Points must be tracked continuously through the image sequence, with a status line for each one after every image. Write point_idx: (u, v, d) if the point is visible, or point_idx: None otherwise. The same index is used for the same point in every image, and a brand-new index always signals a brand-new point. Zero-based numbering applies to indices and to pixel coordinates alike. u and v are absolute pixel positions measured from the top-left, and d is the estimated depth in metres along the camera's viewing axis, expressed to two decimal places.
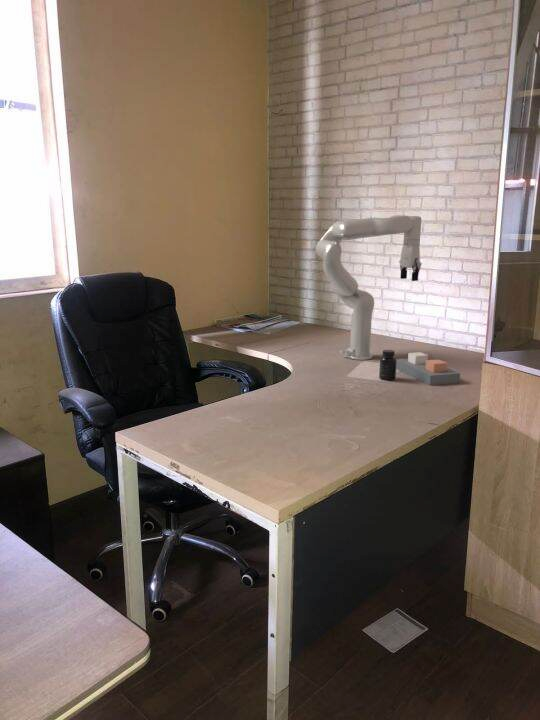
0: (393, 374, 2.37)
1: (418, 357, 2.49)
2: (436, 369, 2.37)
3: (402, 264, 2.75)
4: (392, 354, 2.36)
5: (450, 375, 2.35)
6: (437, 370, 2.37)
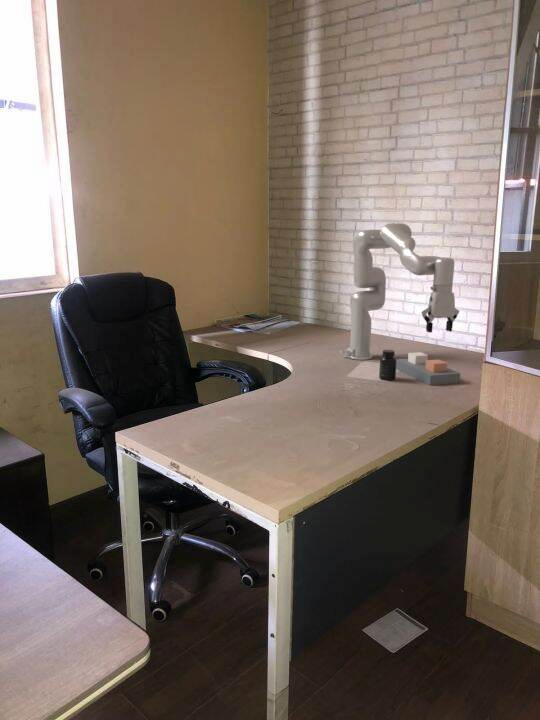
0: (393, 374, 2.37)
1: (418, 357, 2.49)
2: (436, 369, 2.37)
3: (440, 314, 2.31)
4: (392, 354, 2.36)
5: (450, 375, 2.35)
6: (437, 370, 2.37)
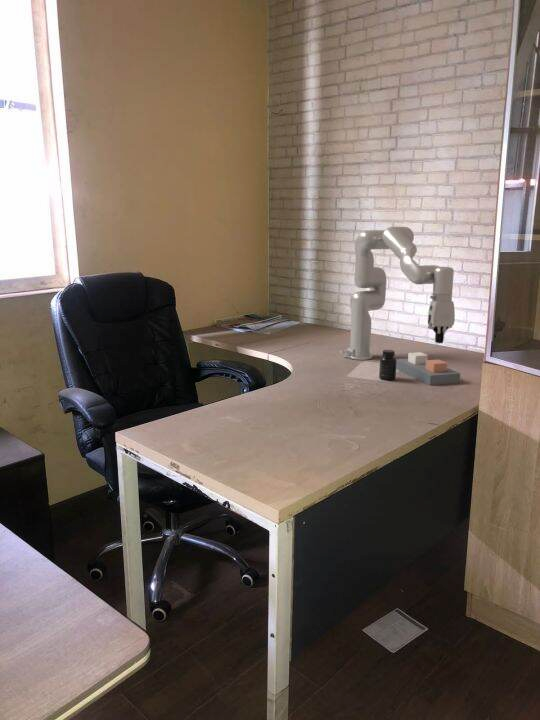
0: (393, 374, 2.37)
1: (418, 357, 2.49)
2: (436, 369, 2.37)
3: (440, 323, 2.32)
4: (392, 354, 2.36)
5: (450, 375, 2.35)
6: (437, 370, 2.37)
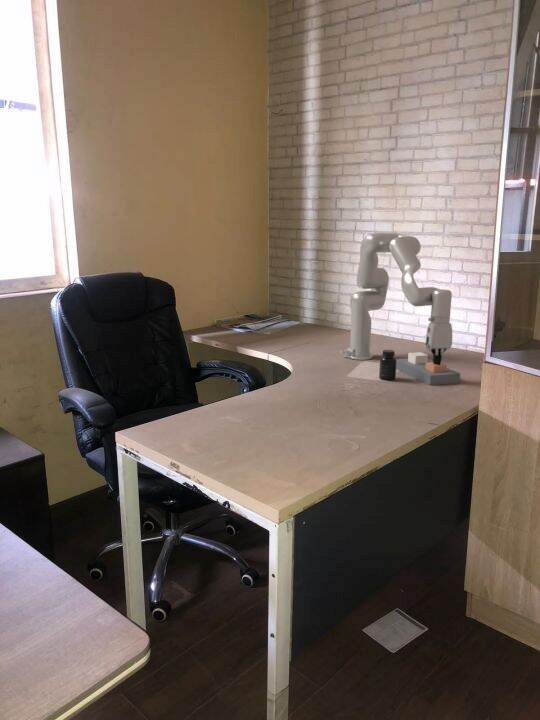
0: (393, 374, 2.37)
1: (418, 357, 2.49)
2: (436, 371, 2.37)
3: (438, 345, 2.34)
4: (392, 354, 2.36)
5: (450, 375, 2.35)
6: None
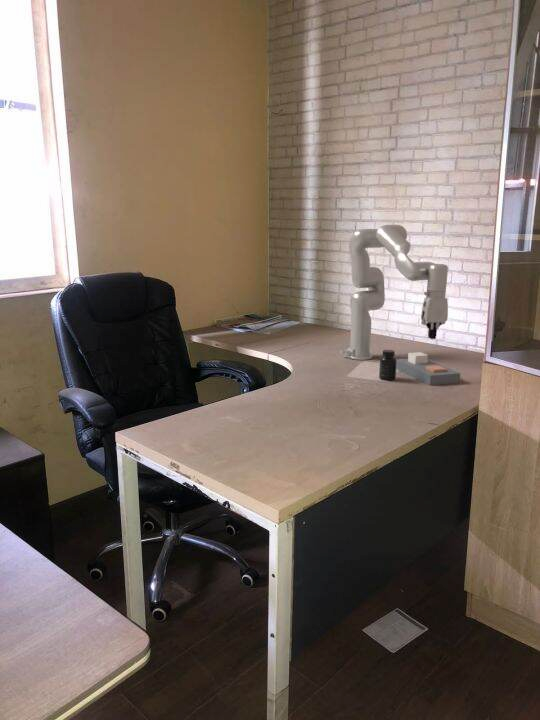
0: (393, 374, 2.37)
1: (418, 357, 2.49)
2: None
3: (433, 319, 2.36)
4: (392, 354, 2.36)
5: (450, 375, 2.35)
6: None
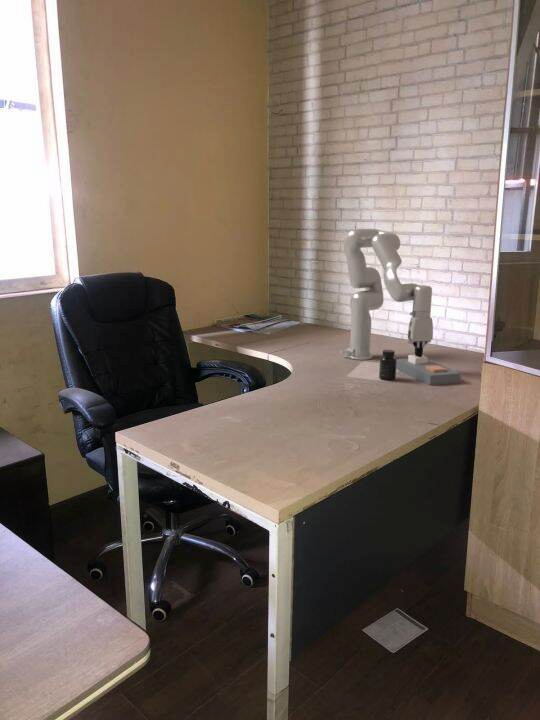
0: (393, 374, 2.37)
1: (418, 359, 2.49)
2: None
3: (419, 338, 2.47)
4: (392, 354, 2.36)
5: (450, 375, 2.35)
6: None
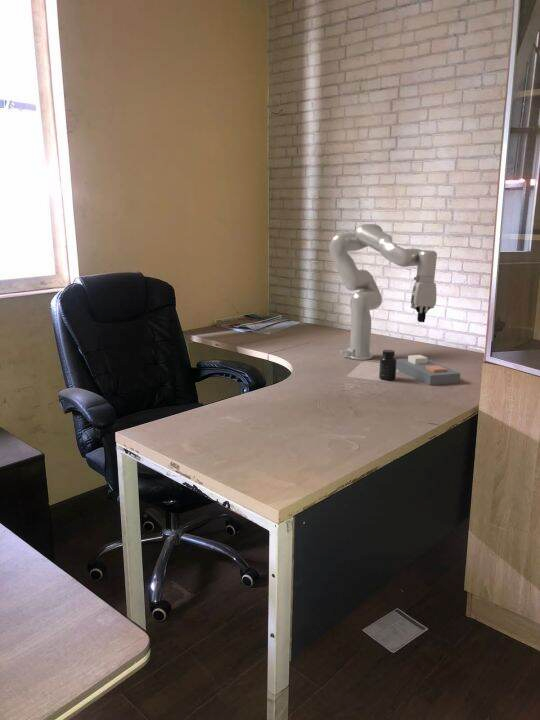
0: (393, 374, 2.37)
1: (418, 360, 2.49)
2: None
3: (422, 303, 2.48)
4: (392, 354, 2.36)
5: (450, 375, 2.35)
6: None
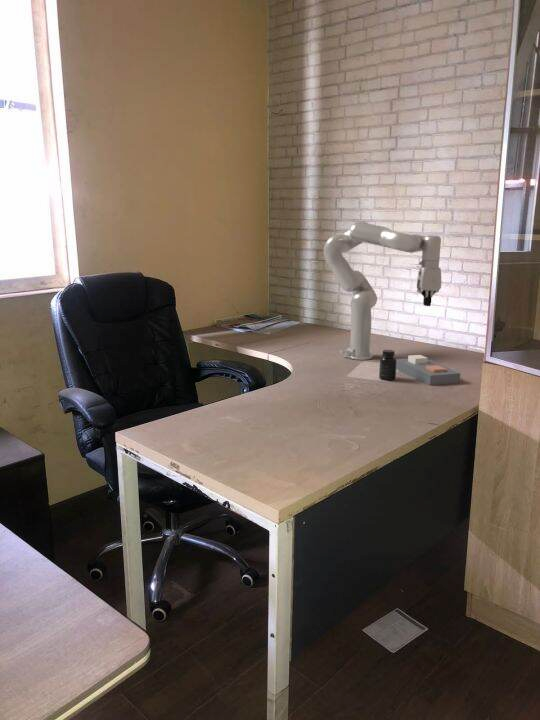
0: (393, 374, 2.37)
1: (418, 360, 2.49)
2: None
3: (428, 287, 2.54)
4: (392, 354, 2.36)
5: (450, 375, 2.35)
6: None
